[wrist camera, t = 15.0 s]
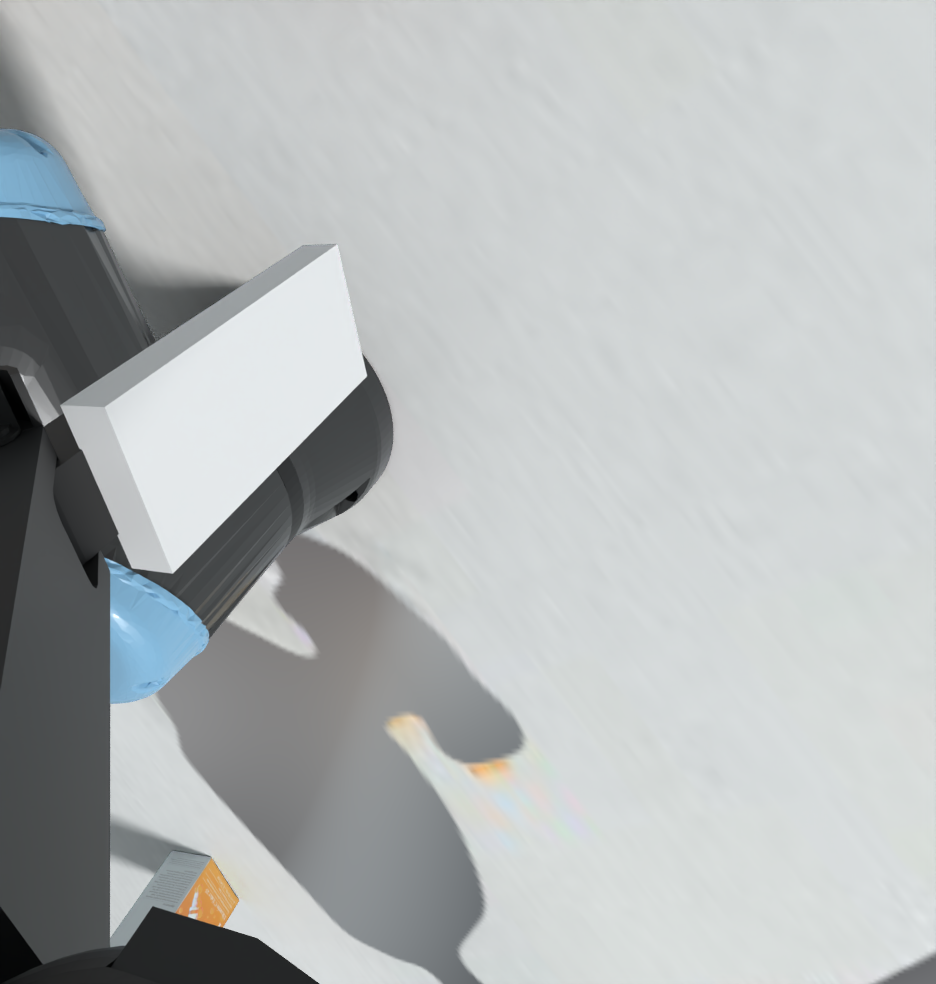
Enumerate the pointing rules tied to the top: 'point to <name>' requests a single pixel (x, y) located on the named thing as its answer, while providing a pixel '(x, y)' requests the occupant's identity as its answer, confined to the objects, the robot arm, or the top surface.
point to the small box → (182, 894)
